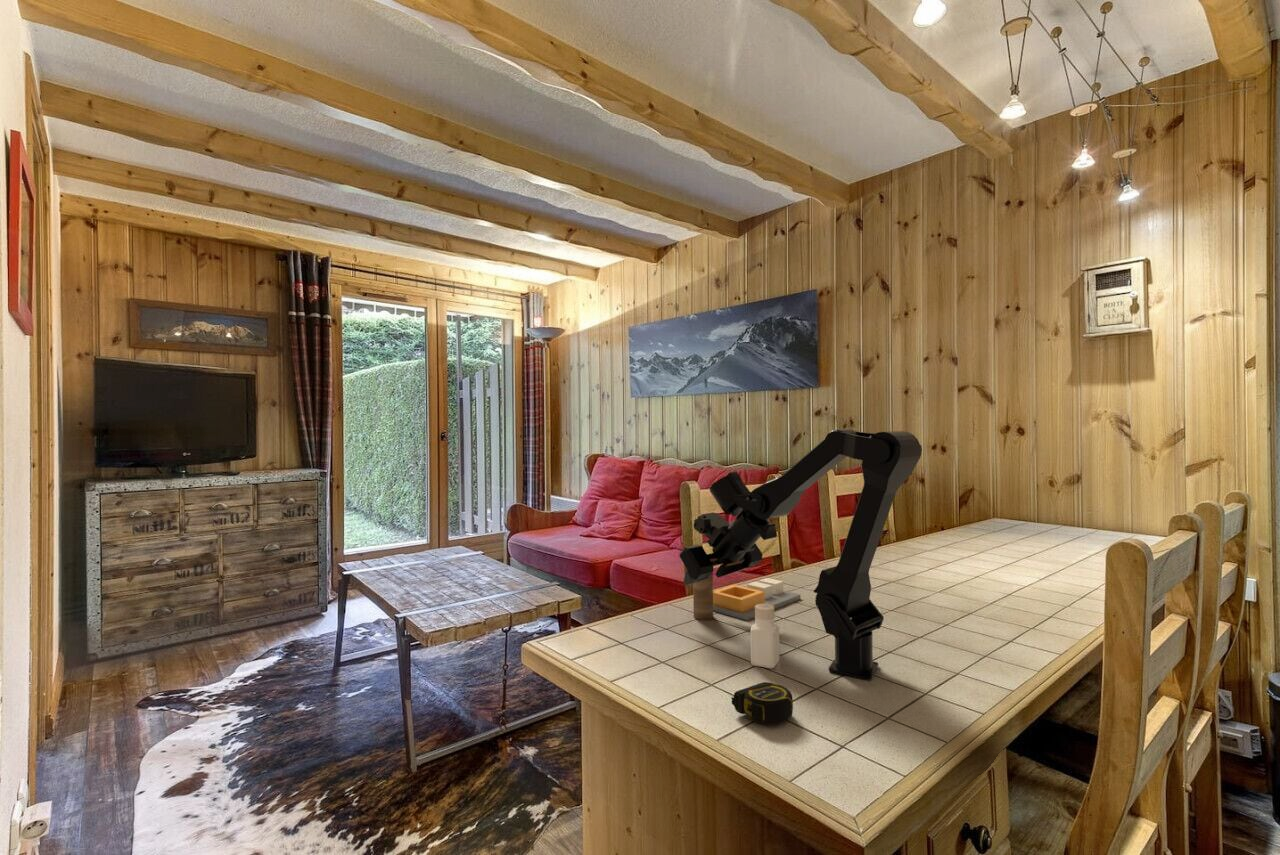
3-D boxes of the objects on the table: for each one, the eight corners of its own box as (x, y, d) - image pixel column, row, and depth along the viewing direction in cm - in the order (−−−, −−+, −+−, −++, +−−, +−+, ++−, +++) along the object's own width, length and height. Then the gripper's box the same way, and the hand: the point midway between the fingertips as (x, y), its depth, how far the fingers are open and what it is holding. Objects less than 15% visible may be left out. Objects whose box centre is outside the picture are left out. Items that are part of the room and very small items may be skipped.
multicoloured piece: (746, 620, 119) (746, 603, 119) (701, 607, 128) (700, 591, 128) (800, 598, 133) (800, 583, 133) (755, 588, 141) (755, 573, 141)
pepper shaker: (756, 657, 101) (756, 601, 100) (780, 661, 99) (779, 604, 99) (749, 666, 97) (749, 608, 97) (774, 670, 95) (773, 611, 95)
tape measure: (768, 701, 85) (767, 675, 85) (804, 721, 79) (803, 694, 79) (731, 714, 82) (730, 687, 82) (766, 736, 76) (765, 707, 76)
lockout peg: (708, 621, 119) (707, 559, 119) (690, 618, 121) (689, 556, 121) (716, 615, 122) (715, 555, 122) (698, 612, 124) (698, 553, 124)
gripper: (751, 496, 123) (712, 541, 132) (685, 505, 111) (648, 554, 120) (782, 540, 117) (739, 584, 126) (716, 555, 106) (675, 602, 114)
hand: (701, 579), depth 122 cm, fingers open, 9 cm apart
